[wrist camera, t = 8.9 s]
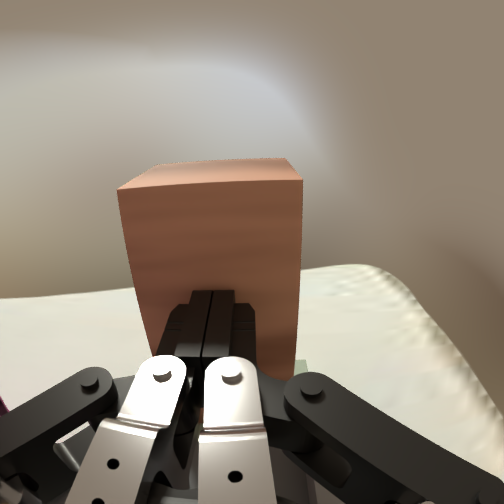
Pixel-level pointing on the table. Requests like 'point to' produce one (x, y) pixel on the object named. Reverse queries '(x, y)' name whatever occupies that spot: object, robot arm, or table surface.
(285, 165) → the block
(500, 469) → the table surface
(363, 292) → the table surface
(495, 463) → the table surface
